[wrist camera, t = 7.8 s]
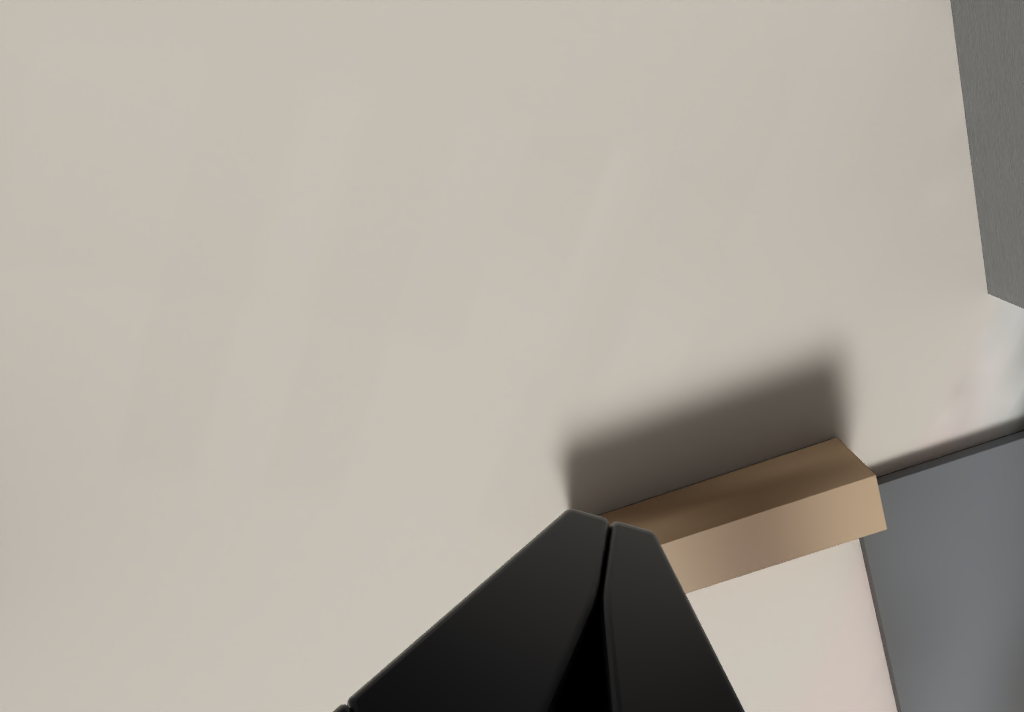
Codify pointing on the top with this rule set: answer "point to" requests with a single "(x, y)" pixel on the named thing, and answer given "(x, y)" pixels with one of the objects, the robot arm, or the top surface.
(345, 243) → the top surface
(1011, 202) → the bookend
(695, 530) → the trap lane
